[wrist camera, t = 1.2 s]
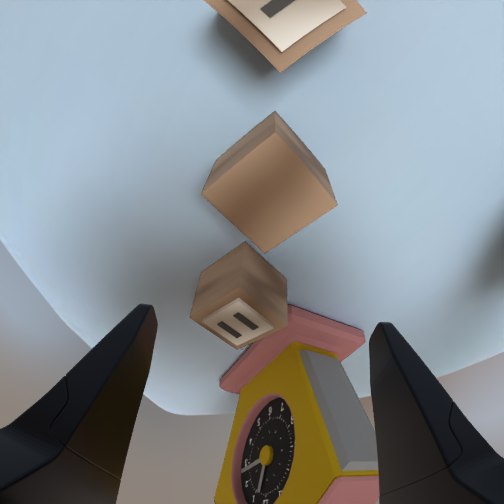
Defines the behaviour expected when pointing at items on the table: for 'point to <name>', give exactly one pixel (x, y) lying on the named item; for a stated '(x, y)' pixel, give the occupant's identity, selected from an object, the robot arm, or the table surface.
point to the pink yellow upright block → (299, 420)
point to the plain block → (269, 184)
